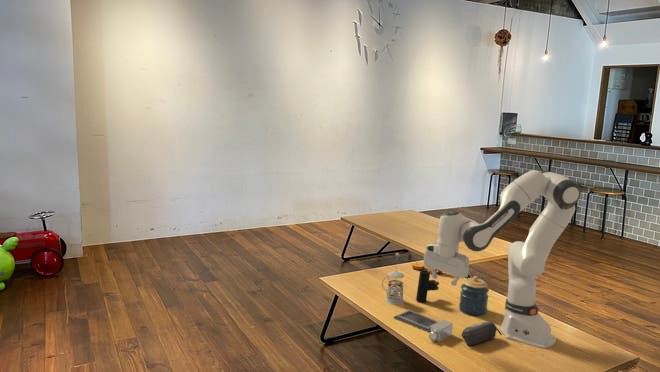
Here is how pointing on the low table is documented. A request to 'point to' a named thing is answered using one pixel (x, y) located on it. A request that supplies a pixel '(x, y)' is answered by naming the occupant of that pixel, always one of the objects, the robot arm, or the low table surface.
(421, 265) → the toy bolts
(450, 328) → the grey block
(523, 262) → the robot arm
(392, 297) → the french press
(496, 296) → the low table surface
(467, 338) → the glasses case
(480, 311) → the canister
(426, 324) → the plate
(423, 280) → the pipe connector
